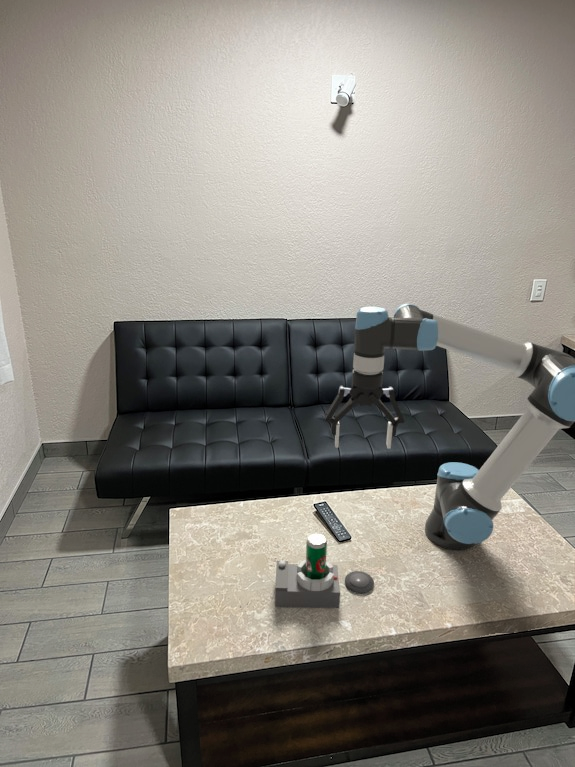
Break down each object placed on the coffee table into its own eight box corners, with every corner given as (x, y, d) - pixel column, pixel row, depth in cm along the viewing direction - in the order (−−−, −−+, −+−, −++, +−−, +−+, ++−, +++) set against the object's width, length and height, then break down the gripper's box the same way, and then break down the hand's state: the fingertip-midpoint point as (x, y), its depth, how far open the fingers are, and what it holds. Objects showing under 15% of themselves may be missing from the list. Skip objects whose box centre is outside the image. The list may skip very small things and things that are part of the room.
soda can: (304, 571, 139) (305, 533, 135) (323, 570, 139) (325, 532, 135) (306, 585, 134) (307, 546, 130) (326, 584, 135) (328, 545, 130)
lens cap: (371, 573, 146) (371, 570, 145) (375, 594, 139) (375, 590, 138) (343, 573, 146) (343, 569, 145) (346, 593, 139) (346, 590, 138)
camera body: (336, 580, 143) (337, 557, 141) (339, 608, 134) (340, 584, 131) (276, 578, 143) (276, 556, 141) (275, 606, 134) (275, 583, 131)
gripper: (415, 365, 137) (407, 440, 144) (317, 363, 137) (314, 438, 145) (421, 375, 130) (412, 453, 137) (318, 374, 130) (315, 451, 138)
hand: (362, 445), depth 141 cm, fingers open, 13 cm apart
